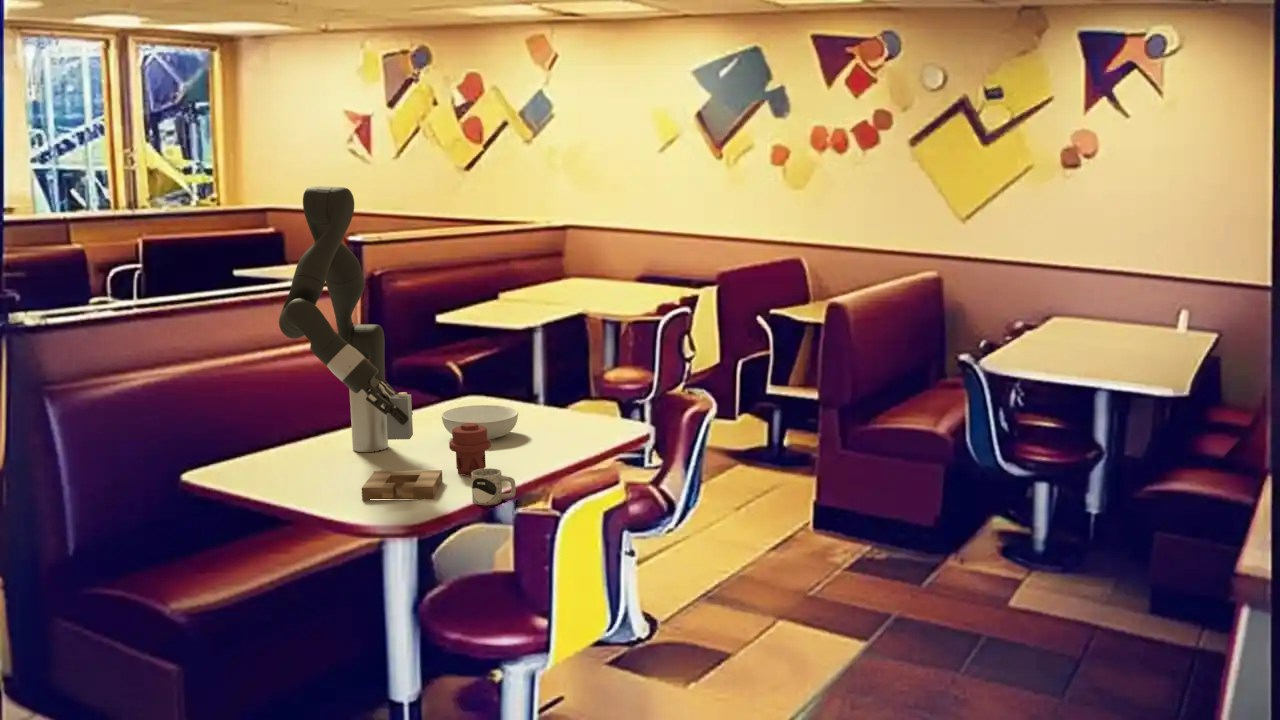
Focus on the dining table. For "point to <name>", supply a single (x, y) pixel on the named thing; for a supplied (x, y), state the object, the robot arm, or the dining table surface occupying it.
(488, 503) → the mug
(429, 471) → the plate
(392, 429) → the block
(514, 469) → the dining table surface
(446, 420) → the serving bowl
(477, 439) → the mechanical component
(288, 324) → the robot arm
